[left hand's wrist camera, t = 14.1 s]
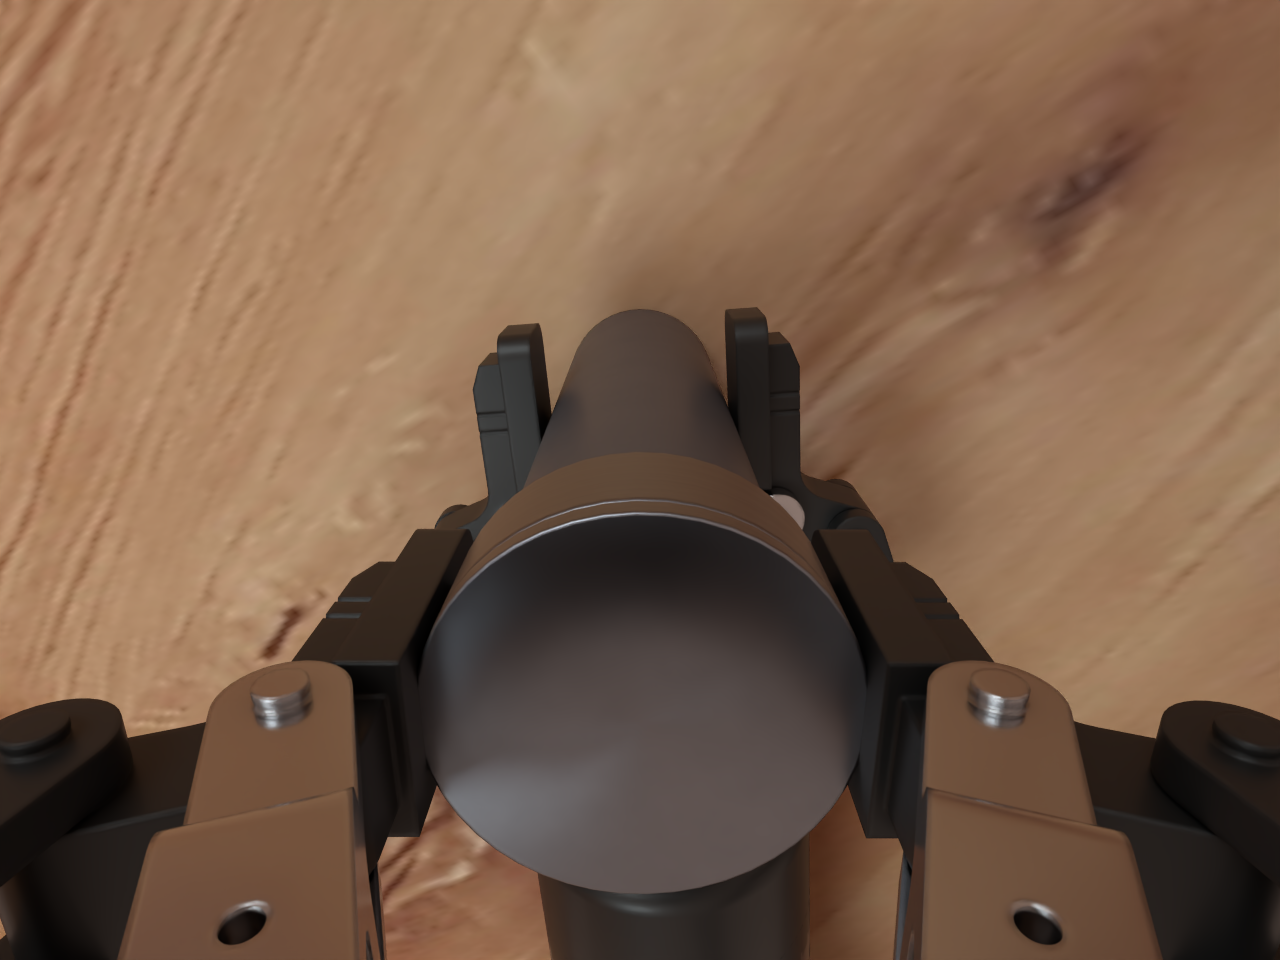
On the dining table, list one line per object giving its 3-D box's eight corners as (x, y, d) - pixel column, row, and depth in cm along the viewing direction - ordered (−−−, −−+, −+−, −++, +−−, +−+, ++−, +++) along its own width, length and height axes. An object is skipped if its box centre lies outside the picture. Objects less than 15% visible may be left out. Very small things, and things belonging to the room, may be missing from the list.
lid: (863, 734, 11) (907, 844, 9) (525, 814, 12) (504, 933, 10) (783, 402, 10) (817, 454, 8) (395, 510, 10) (340, 585, 8)
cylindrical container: (726, 425, 25) (859, 799, 10) (595, 462, 25) (527, 875, 10) (690, 291, 24) (781, 482, 8) (552, 332, 24) (399, 586, 9)
